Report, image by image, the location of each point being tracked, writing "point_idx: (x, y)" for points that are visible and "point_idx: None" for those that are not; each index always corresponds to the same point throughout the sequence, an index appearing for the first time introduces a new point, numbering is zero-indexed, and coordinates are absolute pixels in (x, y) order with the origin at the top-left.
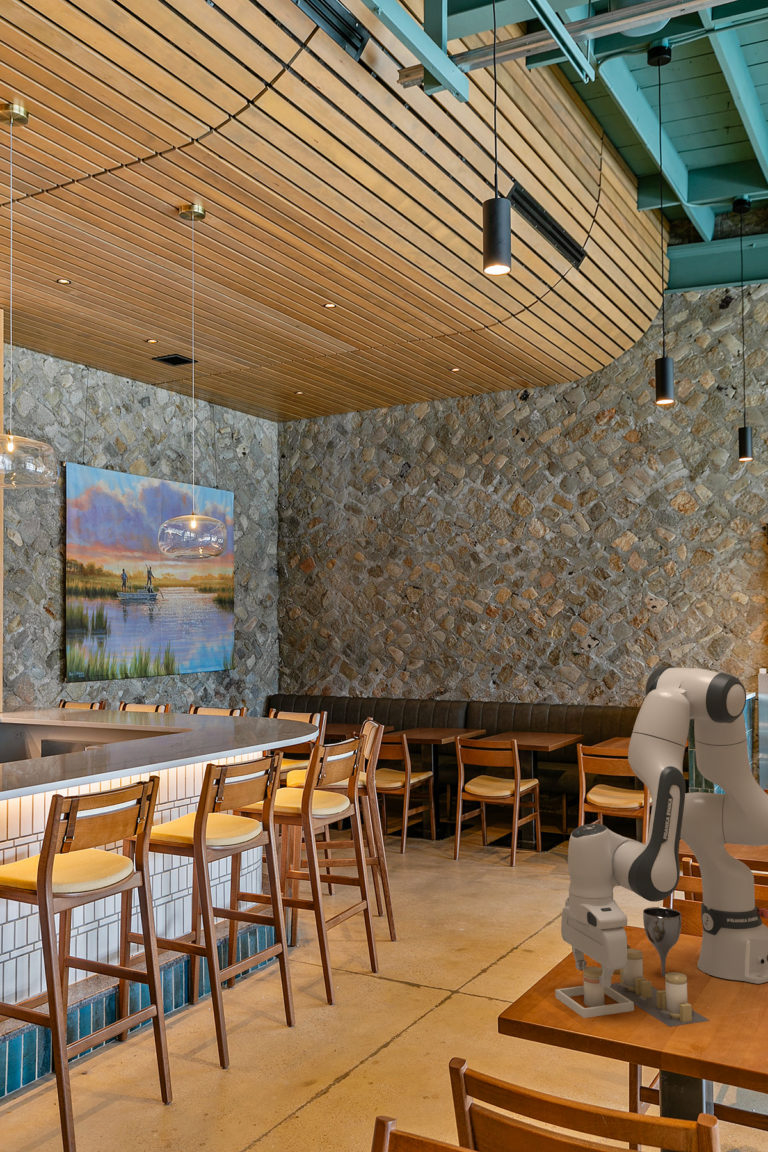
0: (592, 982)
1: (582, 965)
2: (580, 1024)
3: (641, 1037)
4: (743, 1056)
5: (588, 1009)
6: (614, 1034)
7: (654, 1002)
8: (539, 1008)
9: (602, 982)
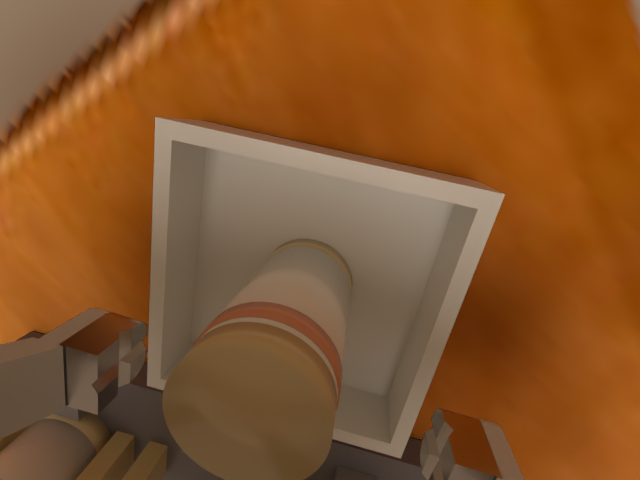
0: (216, 317)
1: (440, 461)
2: (221, 118)
3: (37, 241)
4: None
5: (157, 151)
6: (85, 174)
7: (200, 466)
8: (498, 63)
9: (82, 321)
